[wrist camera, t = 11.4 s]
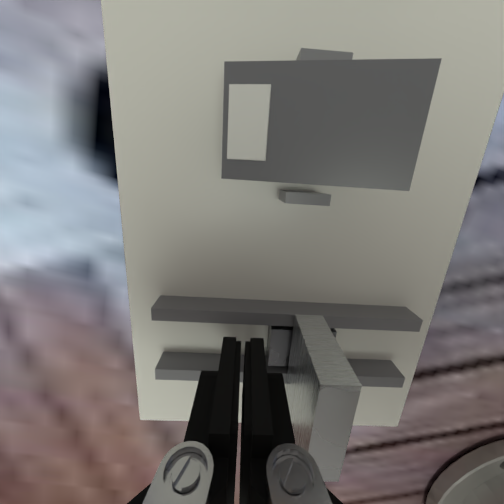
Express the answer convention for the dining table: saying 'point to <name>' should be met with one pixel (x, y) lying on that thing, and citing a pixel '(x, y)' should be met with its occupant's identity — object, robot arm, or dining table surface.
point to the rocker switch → (326, 121)
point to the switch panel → (287, 190)
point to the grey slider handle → (316, 389)
